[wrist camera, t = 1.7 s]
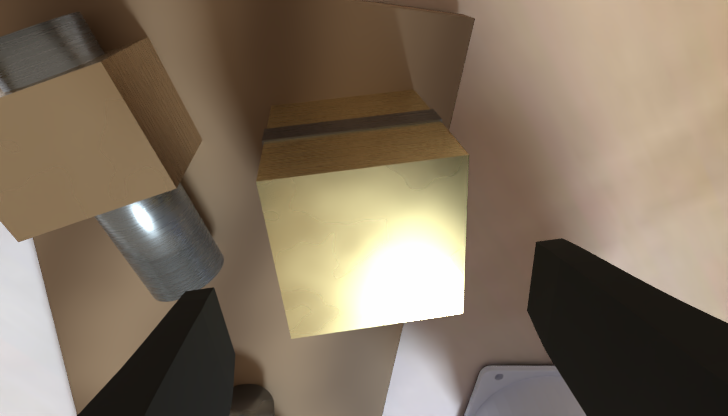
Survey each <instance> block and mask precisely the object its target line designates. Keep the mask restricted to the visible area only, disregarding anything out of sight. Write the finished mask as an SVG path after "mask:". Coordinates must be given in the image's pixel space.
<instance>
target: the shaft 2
mask: <svg viewBox="0 0 728 416" xmlns="http://www.w3.org/2000/svg"><path fill="white" fill-rule="evenodd" d="M229 416H275V409H274V400H273V397H272V395H271V394H270V393H269V391H268V390H266V389H265V388H263V387H262V386H259V385H255V384H242V385H238V386H235V387H233V397H232V403H231V409H230V414H229Z"/></svg>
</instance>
